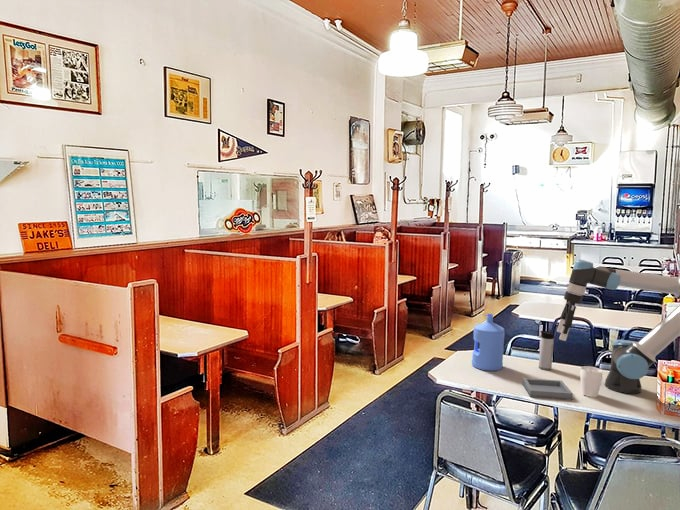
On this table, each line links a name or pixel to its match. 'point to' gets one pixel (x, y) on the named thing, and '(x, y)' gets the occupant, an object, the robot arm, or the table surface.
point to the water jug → (488, 345)
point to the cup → (590, 380)
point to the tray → (546, 388)
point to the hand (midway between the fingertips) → (561, 336)
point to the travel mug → (546, 350)
